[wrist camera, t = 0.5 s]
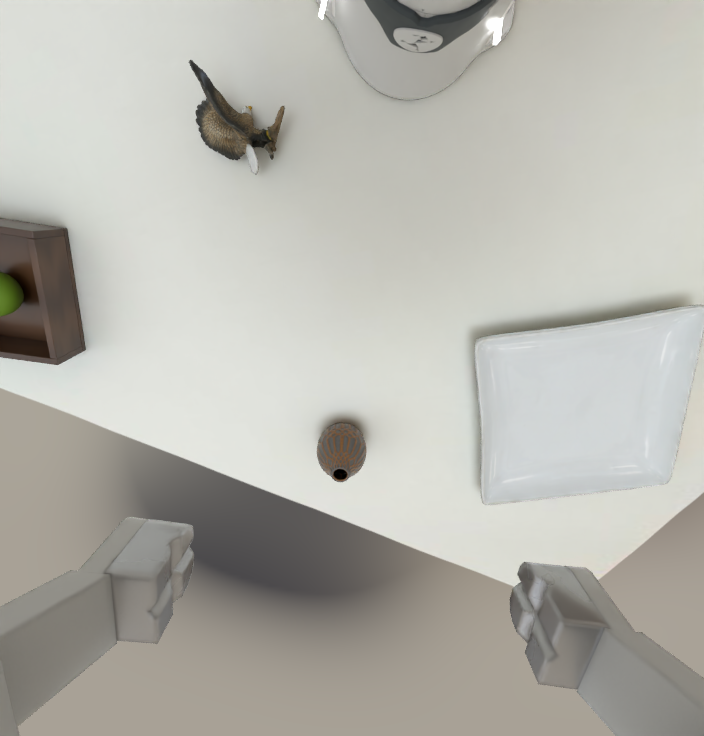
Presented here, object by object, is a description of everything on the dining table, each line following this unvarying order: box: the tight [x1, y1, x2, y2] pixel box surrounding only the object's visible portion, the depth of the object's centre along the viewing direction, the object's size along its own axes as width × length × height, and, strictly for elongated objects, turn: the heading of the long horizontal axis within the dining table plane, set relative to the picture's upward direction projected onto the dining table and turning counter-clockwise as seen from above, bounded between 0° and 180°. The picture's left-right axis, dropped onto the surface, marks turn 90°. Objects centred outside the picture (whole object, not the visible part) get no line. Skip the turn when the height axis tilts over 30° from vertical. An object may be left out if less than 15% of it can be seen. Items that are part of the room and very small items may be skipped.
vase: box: [317, 423, 366, 482], centre depth 51 cm, size 7×7×9 cm
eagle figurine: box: [189, 60, 284, 174], centre depth 37 cm, size 8×7×9 cm
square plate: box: [475, 305, 704, 505], centre depth 51 cm, size 27×27×4 cm
